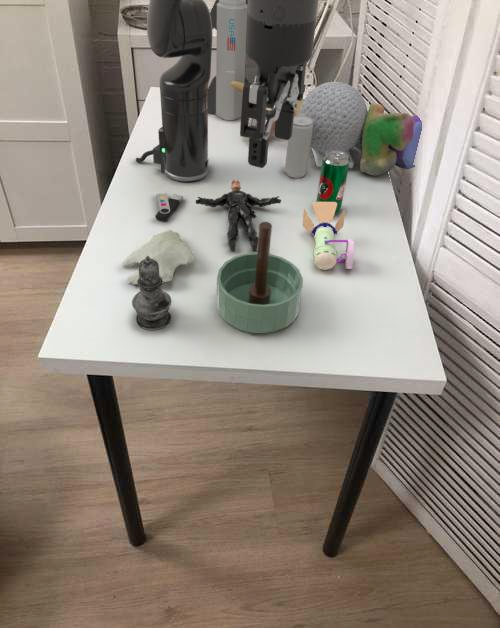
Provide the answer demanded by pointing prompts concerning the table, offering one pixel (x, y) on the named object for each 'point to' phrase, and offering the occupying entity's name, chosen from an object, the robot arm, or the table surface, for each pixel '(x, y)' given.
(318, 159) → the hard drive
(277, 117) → the robot arm
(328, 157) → the soda can
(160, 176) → the table surface
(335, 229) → the spotlight
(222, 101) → the rocket model
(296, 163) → the beverage can
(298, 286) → the bowl
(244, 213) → the action figure
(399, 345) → the table surface
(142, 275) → the chess piece
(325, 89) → the decorative ball
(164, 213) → the usb flash drive
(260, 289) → the muddler
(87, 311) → the table surface
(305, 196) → the table surface
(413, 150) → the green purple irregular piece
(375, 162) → the sculpture
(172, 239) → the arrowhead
